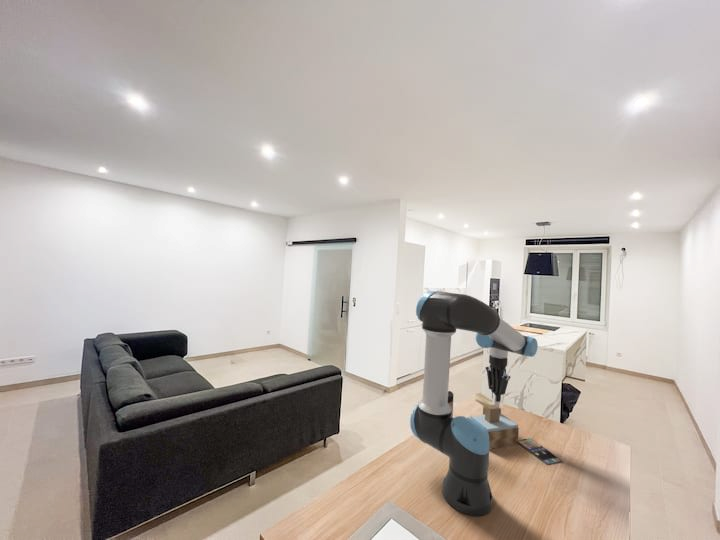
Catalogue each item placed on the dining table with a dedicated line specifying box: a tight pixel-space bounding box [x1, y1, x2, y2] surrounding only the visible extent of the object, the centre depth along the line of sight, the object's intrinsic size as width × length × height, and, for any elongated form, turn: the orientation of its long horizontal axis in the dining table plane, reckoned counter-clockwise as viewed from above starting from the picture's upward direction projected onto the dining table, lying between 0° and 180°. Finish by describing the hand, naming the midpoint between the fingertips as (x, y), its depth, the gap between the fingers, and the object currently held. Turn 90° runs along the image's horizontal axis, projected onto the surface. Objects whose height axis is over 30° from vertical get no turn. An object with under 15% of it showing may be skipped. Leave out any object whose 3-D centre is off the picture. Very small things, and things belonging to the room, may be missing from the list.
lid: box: [470, 405, 519, 432], centre depth 130 cm, size 16×11×8 cm
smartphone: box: [517, 437, 564, 466], centre depth 122 cm, size 8×15×1 cm, turn 18°
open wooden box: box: [482, 405, 520, 450], centre depth 132 cm, size 17×15×10 cm
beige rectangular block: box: [475, 392, 493, 406], centre depth 142 cm, size 3×11×3 cm, turn 17°
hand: (495, 407), depth 137 cm, fingers closed
